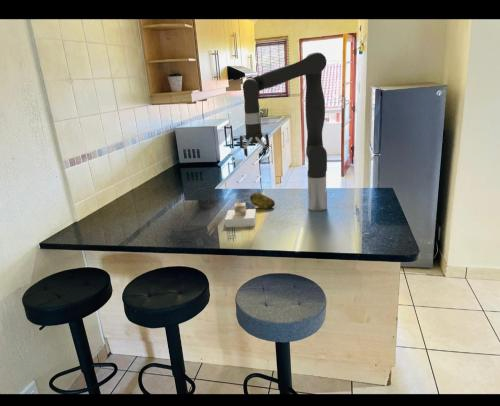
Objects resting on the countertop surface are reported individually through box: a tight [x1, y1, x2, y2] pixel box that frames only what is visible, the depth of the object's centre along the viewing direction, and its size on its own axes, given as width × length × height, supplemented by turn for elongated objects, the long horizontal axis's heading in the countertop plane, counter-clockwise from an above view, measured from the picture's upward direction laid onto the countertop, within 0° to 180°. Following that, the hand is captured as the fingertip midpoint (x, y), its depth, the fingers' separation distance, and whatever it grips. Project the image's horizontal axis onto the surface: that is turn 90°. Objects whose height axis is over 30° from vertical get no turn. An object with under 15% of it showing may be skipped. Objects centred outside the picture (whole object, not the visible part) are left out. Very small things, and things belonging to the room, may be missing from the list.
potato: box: [249, 192, 276, 210], centre depth 201 cm, size 8×13×8 cm, turn 52°
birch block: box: [233, 202, 247, 216], centre depth 183 cm, size 5×5×5 cm
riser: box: [224, 208, 257, 228], centre depth 185 cm, size 14×13×4 cm
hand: (255, 155), depth 185 cm, fingers open, 8 cm apart
